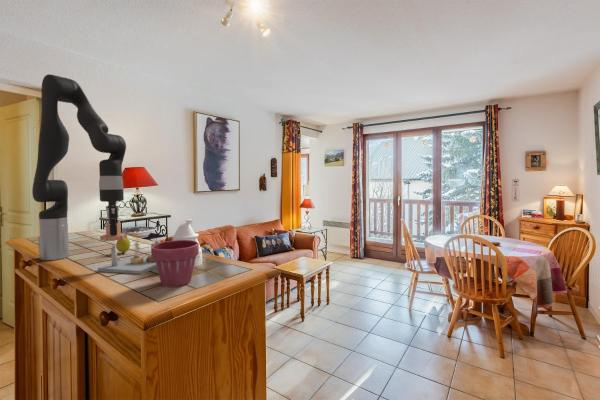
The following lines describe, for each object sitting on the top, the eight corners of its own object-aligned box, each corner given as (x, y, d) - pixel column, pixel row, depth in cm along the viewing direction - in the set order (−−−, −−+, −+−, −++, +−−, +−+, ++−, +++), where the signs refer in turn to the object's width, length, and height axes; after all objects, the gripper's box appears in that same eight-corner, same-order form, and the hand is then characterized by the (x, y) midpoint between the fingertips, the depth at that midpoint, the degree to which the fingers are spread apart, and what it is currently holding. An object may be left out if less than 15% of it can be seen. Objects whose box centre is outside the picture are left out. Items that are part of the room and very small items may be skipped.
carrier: (98, 271, 110) (97, 247, 109) (134, 258, 128) (133, 237, 127) (142, 274, 106) (141, 249, 106) (173, 260, 124) (173, 239, 124)
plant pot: (148, 292, 90) (146, 250, 89) (156, 277, 103) (155, 240, 102) (198, 287, 94) (197, 247, 93) (200, 274, 107) (199, 238, 106)
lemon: (126, 254, 133) (125, 237, 133) (113, 254, 133) (113, 237, 133) (133, 251, 139) (132, 234, 138) (121, 251, 139) (120, 234, 138)
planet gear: (94, 240, 108) (93, 222, 108) (113, 236, 117) (112, 219, 116) (114, 241, 107) (113, 223, 106) (131, 237, 115) (131, 220, 115)
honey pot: (207, 260, 125) (206, 217, 124) (193, 269, 113) (192, 222, 111) (178, 259, 127) (177, 217, 125) (161, 268, 114) (160, 221, 113)
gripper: (124, 188, 107) (126, 235, 108) (121, 187, 119) (123, 230, 120) (99, 188, 103) (101, 238, 104) (99, 188, 114) (101, 232, 115)
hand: (113, 233), depth 112 cm, fingers closed on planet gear, 4 cm apart
